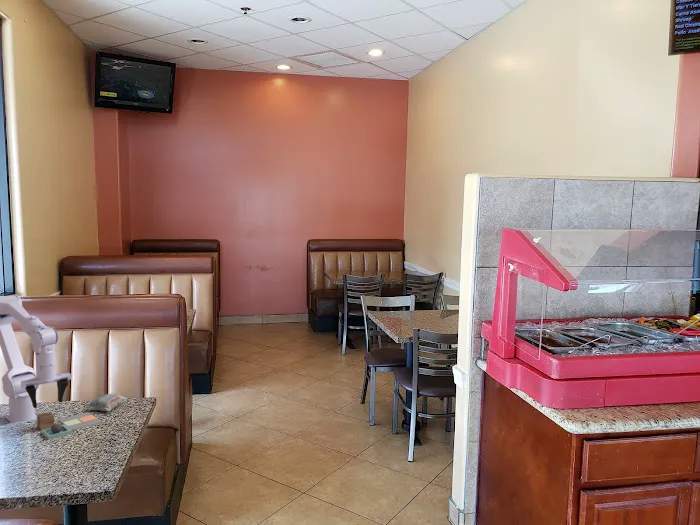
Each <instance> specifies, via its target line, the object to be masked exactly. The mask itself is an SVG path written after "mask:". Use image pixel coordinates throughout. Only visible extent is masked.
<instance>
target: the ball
mask: <svg viewBox="0 0 700 525" xmlns="http://www.w3.org/2000/svg"><path fill="white" fill-rule="evenodd" d="M61 425H62V424H60V423H54V425H52V427H51V432H52V433H54V434H57V433H59V432H60V431H61V430H62V426H61Z"/></svg>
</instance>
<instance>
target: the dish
mask: <svg viewBox="0 0 700 525" xmlns="http://www.w3.org/2000/svg"><path fill="white" fill-rule="evenodd" d="M60 425H61V426H62V430H61V431H60V432H59V433H57V434H54V433H52V432H51V428H48V429H44V430H40V432H41V434H42V435H43V437H45V438H46V439H47V440H52V439H56V438H60V437H64V436H68V435H72V433H73V432H72V431H73V430H71V429H69V428H68V427H67V426H66V425H65V424H64V425H63V424H60Z"/></svg>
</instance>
